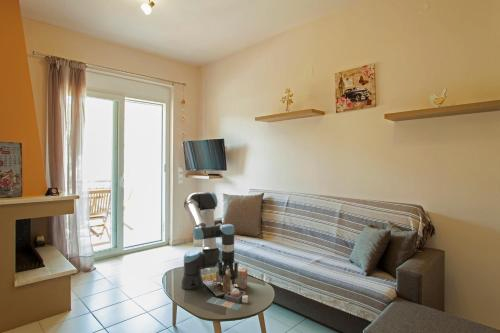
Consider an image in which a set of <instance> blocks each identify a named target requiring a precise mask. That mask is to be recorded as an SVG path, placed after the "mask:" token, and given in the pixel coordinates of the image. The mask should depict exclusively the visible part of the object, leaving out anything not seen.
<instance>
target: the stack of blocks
mask: <svg viewBox="0 0 500 333" xmlns="http://www.w3.org/2000/svg"><path fill="white" fill-rule="evenodd" d="M233 269H234V266H233ZM222 270H223V268H222ZM226 273H228V274H230V269H229V268H228V269H226ZM226 273H225V274H226ZM216 282H220V283H223V282H222V277H221V276H219V269H218V270H216V271H215V283H216ZM235 284H237V285H238V287H240V288H239V289H241V288H242V290H245V289H246V288H247V286H248V268H246V267H240V266H238V277H237V278H236V279H235Z"/></svg>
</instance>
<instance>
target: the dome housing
mask: <svg viewBox="0 0 500 333" xmlns="http://www.w3.org/2000/svg"><path fill="white" fill-rule="evenodd" d="M238 290H239V291H240V292H241V295H240V296H239V297H234V296H230V292H227V293H225V294H224V300H226V301H230V302H234V303H238V304H240V303H241V302H242V297H243V295H247V291H244V290H240V289H238ZM231 291H232V290H231Z"/></svg>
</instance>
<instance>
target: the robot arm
mask: <svg viewBox="0 0 500 333" xmlns="http://www.w3.org/2000/svg"><path fill="white" fill-rule="evenodd" d="M183 206H184V211H186V212H187V213H188V216H189V219H190V221H191V223H192V226H193V229H192V236H193V237H192V238H193V239H194V240H196V241H198V240H203V248H202V249H201V250H202V251H201V250H200V249H192V250H189V251H187V252H186V253H184V255H183V276H182V280H181V282H180V283H181V288H182V289H184V290H187V291H192V290H197V289H200V288H202V287H203V286H204V280H203V276H202V273H201V272H202V271H201V270H205V269H210V268H211V269H212V268H217V267H218V270H219V276H221V277H222V282H223V276H224V275H225V273H226V270H227V267H228V269H230V274H231V279H230V290H232V289H234V288H235V287H234V284H235V279H236V278H237V277H238V267H239V263H240V262H239V261H236V260H235V225H233V224H231V223H225V224H224V223H217V224H215V215H214V214H215V213H214V212H215V210H216V208H217V207H218V198H217V195H216V194H215V192H214V191H205V192H204V191H203V192H192V193H190V194H189V195H187V197H186V198H185V199H184V202H183ZM216 238H221V249H220V248H219V246H218V245H217V240H216ZM233 267H234V269H233ZM222 269H223V270H222Z"/></svg>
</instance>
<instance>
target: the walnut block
mask: <svg viewBox="0 0 500 333" xmlns="http://www.w3.org/2000/svg"><path fill="white" fill-rule="evenodd" d="M230 279H231V274H228V273H226V274H225V275H224V276H223V286H222V291H224V292H227V293H228V292H230V291H231V290H230ZM232 290H233V289H232Z"/></svg>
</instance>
